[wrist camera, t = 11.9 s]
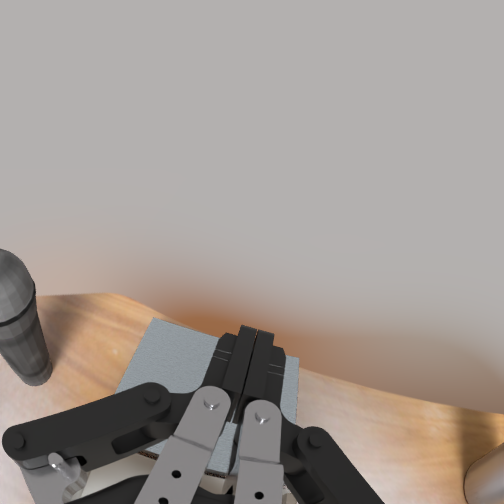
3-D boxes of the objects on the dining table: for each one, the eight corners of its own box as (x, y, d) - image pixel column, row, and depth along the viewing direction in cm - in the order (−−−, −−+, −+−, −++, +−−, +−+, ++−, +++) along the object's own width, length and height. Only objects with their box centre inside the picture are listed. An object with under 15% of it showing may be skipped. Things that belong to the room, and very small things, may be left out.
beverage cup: (66, 394, 24) (5, 229, 13) (9, 398, 20) (-77, 240, 9) (60, 341, 29) (25, 180, 18) (9, 345, 25) (-45, 190, 14)
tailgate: (290, 483, 19) (299, 358, 30) (98, 430, 18) (153, 317, 30) (282, 486, 20) (293, 367, 31) (101, 436, 19) (153, 328, 31)
